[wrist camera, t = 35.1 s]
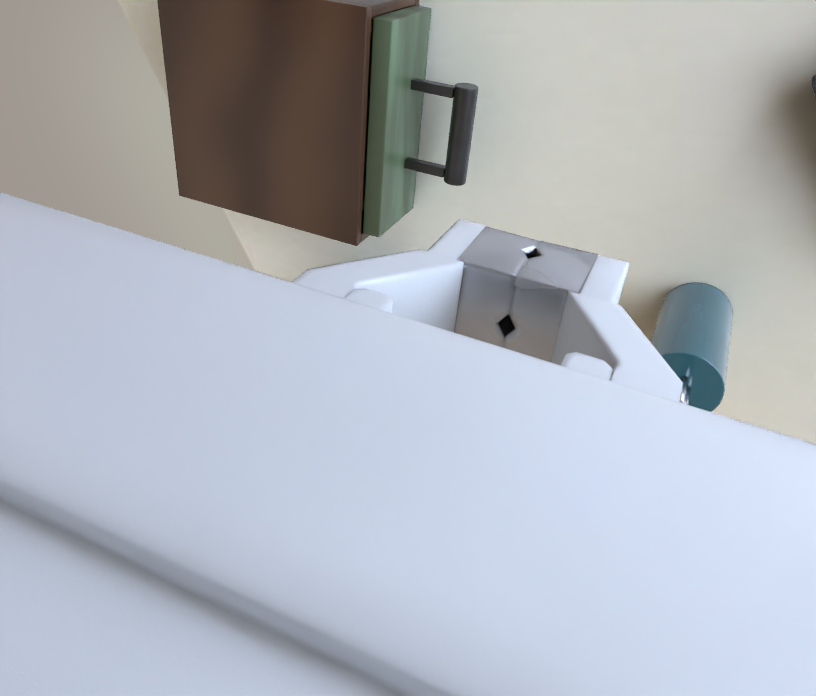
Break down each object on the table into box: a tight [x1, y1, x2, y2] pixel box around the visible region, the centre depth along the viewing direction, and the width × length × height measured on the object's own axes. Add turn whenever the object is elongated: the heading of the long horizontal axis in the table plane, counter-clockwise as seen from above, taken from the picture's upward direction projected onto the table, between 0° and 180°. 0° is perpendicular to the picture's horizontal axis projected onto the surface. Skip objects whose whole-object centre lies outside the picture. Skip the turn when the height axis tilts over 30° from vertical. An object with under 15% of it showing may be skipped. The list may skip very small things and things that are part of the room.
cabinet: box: [158, 0, 419, 246], centre depth 46 cm, size 14×14×7 cm
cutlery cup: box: [651, 283, 733, 412], centre depth 41 cm, size 4×4×13 cm
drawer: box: [362, 6, 478, 237], centre depth 45 cm, size 18×13×6 cm
